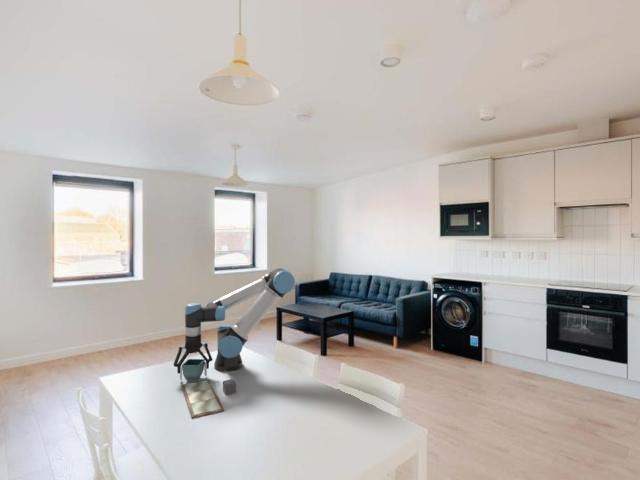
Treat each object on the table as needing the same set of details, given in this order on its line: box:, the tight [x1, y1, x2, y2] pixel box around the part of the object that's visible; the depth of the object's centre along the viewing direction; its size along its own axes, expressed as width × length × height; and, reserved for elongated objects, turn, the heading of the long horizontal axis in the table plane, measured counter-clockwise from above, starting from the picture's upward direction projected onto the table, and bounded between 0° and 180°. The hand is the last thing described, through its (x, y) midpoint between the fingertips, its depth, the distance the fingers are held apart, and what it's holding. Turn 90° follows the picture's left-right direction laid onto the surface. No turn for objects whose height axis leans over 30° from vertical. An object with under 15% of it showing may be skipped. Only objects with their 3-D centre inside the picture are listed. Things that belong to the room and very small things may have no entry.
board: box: [181, 380, 225, 419], centre depth 163 cm, size 13×34×1 cm, turn 27°
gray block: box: [222, 378, 237, 396], centre depth 169 cm, size 5×5×5 cm
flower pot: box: [181, 358, 206, 382], centre depth 183 cm, size 9×9×9 cm
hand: (193, 377), depth 183 cm, fingers closed on flower pot, 11 cm apart
